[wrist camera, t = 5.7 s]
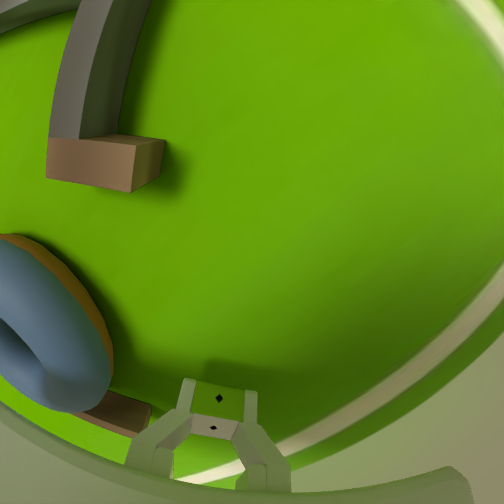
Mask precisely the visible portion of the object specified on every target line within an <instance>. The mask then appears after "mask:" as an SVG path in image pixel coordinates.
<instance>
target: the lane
mask: <svg viewBox="0 0 504 504" xmlns="http://www.w3.org/2000/svg"><path fill="white" fill-rule="evenodd" d="M150 3H151V0H0V34H2V33H4V32H6V31H9V30H11V29H14V28H16V27H19V26H21V25H24V24H27V23H30V22H32V21H35V20H38V19H42V18H45V17H48V16H51V15H55V14H59V13H62V12H66V11H70V10H75V9H78V11H77V13H76V16H75V19H74V22H73V24H72V27H71V30H70V33H69V36H68V40H67V43H66V46H65V50H64V53H63V57H62V61H61V65H60V69H59V73H58V78H57V83H56V88H55V93H54V98H53V104H52V111H51V118H50V126H49V135H48V146H47V160H46V178H49V179H55V180H61V181H67V182H73V183H79V184H85V185H90V186H96V187H101V188H107V189H112V190H117V191H123V192H128V193H131V192H133V191H135V190H136V189H138V188H140V187H141V186H143V185H145V184H147V183H148V182H150V181H152V180H154V179H156V178H157V177H159V175H160V169H161V163H162V156H163V151H164V145H165V140H163V139H156V138H149V137H141V136H133V135H124V134H116V132H117V126H118V120H119V115H120V109H121V104H122V99H123V94H124V90H125V85H126V81H127V77H128V72H129V69H130V65H131V61H132V57H133V54H134V50H135V47H136V43H137V40H138V37H139V34H140V31H141V28H142V25H143V22H144V19H145V16H146V13H147V10H148V8H149V5H150ZM70 414H72V415H74V416H76V417H78V418H81V419H83V420H85V421H88V422H90V423H92V424H95V425H97V426H99V427H102V428H104V429H107V430H110V431H112V432H115V433H118V434H121V435H123V436H126V437H129V438H133V437H134V436H136V435H137V434H139V433H140V432H141V431H143V430H144V429H145V428H147V426H148V423H149V420H150V416H151V405H150V404H147V403H143V402H140V401H137V400H134V399H131V398H128V397H125V396H122V395H119V394H116V393H113V392H111V391H108V390H107V391H106V393H105V395H104V396H103V398H102V399H101V401H100V402H99V404H98V405H97V406H95V407H94V408H92V409H90V410H87V411H83V412H79V413H70Z"/></svg>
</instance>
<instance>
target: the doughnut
mask: <svg viewBox="0 0 504 504" xmlns="http://www.w3.org/2000/svg"><path fill="white" fill-rule="evenodd" d="M113 372H114V358H113V343H112V340H111V337H110V335H109V332H108V329H107V327H106V324H105V321H104V318H103V316H102V315H101V313H100V311H99V310H98V308H97V306H96V305H95V303H94V302H93V300H92V298H91V296H90V295H89V293H88V291H87V290H86V288H85V287H84V286H83V285H82V283H81V282H80V281H79V280H78V279H77V278H76V276H75V275H74V274H73V273H72V272H71V271H70V269H69V268H68V267H67V266H66V265H65V264H64V263H63V262H62V261H60V260H59V259H58V258H57V257H56V256H54V255H53V254H52V253H51V252H49V251H48V250H47V249H46V248H45V247H44V246H42V245H41V244H39V243H37V242H35V241H33V240H30V239H28V238H26V237H24V236H22V235H20V234H0V374H1V375H2V376H3V378H4V379H5V380H7V381H8V382H9V383H10V384H11V385H12V386H14V387H15V388H16V389H17V390H18V391H20V392H21V393H22V394H24V395H25V396H27V397H28V398H30V399H31V400H33V401H35V402H36V403H38V404H41V405H43V406H45V407H47V408H50V409H52V410H56V411H60V412H65V413H79V412H83V411H87V410H90V409H92V408H94V407H95V406H97V405H98V404H99V402H100V401H101V399H102V398H103V396H104V395H105V393H106V391H107V390H108V388H109V385H110V381H111V379H112V376H113Z"/></svg>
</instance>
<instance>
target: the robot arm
mask: <svg viewBox="0 0 504 504" xmlns="http://www.w3.org/2000/svg"><path fill="white" fill-rule="evenodd" d="M257 409H258V393H257V391H252V390H244V389H241V388H235V387H229V386H223V385H216V384H212V383H207V382H203V381H199V380H195V379H191V378H186V377H185V378H184V380H183V383H182V387H181V391H180V394H179V398H178V402H177V406H176V409H173V408H172V409H171V410H169V411H168V412H167V413H166V414H164V415H163V416H162V417H160V418H159V419H158V420H156V421H155V422H154V423H152V424H151V425H150V426H148V427H147V428H145V429H144V430H143V431H141V432H140V433H139V434H137V435H136V436H134V437H133V438H132V441H131V444H130V448H129V451H128V454H127V457H126V460H125V463H124V465H122V464H119V463H117V462H114V461H111V460H109V459H106V458H103V457H101V456H98V455H96V454H94V453H91V452H89V451H87V450H84V449H82V448H80V447H78V446H76V445H74V444H72V443H69V442H67V441H65V440H63V439H61V438H60V437H58V436H56V435H54V434H52V433H50V432H48V431H47V430H45V429H43V428H41V427H40V426H38V425H36V424H34V423H33V422H31V421H30V420H28V419H26V418H25V417H23V416H22V415H20V414H19V413H17V412H16V411H14V410H13V409H11V408H10V407H8V406H7V405H5V404H4V403H3V402H1V401H0V504H474V500H473V496H472V491H471V488H470V484H469V482H468V480H467V479H466V478H465V477H464V476H463V475H462V474H461V473H460V472H458V471H457V470H456V469H454V468H453V467H451V466H446V467H442V468H440V469H436V470H433V471H430V472H427V473H423V474H420V475H416V476H413V477H409V478H405V479H401V480H397V481H393V482H388V483H383V484H377V485H372V486H366V487H360V488H352V489H344V490H334V491H322V492H303V493H302V492H301V493H291V473H290V464H289V463H288V462H287V461H286V459H285V458H284V457H283V455H282V454H281V452H280V451H279V450H278V448H277V447H276V446H275V444H274V443H273V441H272V440H271V439H270V437H269V436H268V434H267V433H266V432H265V430H264V429H263V427H262V426H261V425H259V424H257ZM190 433H193V434H198V435H204V436H210V437H215V438H220V439H225V440H231V443H232V445H233V447H234V449H235V451H236V452H237V454H238V456H239V458H240V460H241V462H242V463H243V465H244V467H245V469H246V470H245V471H244V472H243V474H242V475H241V476H240V477H239V478H238V480H237V481H236V488H235V490H232V489H224V488H216V487H210V486H204V485H198V484H193V483H188V482H183V481H178V480H174V479H172V476H173V471H174V453H173V452H172V451H173V450H174V449H175V448H176V447H177V446H178V445H180V444H181V443H182V442H183V441H184V440H185V439H186V438H187V437H188V436H189V435H190Z"/></svg>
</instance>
